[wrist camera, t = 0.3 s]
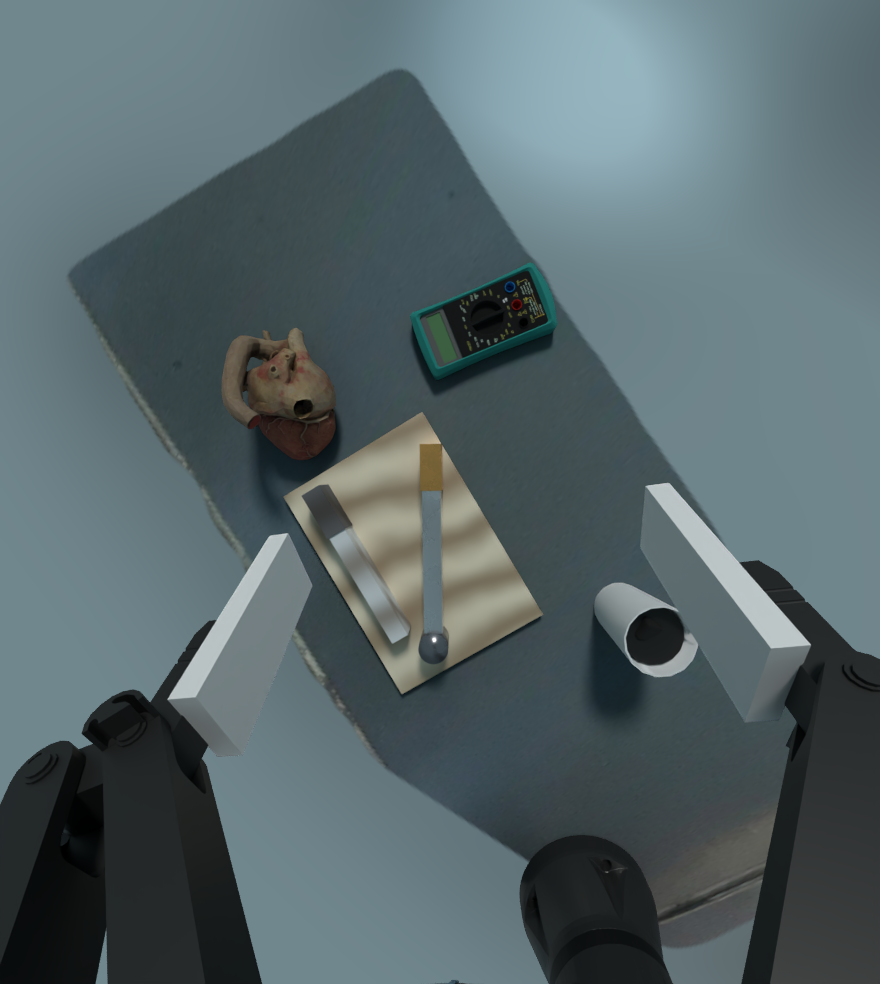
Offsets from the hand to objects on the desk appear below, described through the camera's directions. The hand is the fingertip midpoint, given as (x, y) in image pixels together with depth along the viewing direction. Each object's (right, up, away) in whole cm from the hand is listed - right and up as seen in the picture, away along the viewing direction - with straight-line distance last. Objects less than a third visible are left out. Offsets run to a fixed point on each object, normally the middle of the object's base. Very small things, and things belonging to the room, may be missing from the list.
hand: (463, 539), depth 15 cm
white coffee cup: (+20, -12, +33) cm, 40 cm away
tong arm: (-2, -5, +32) cm, 32 cm away
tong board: (-4, -6, +33) cm, 34 cm away
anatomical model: (-17, +13, +34) cm, 40 cm away
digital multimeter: (+4, +21, +33) cm, 39 cm away
